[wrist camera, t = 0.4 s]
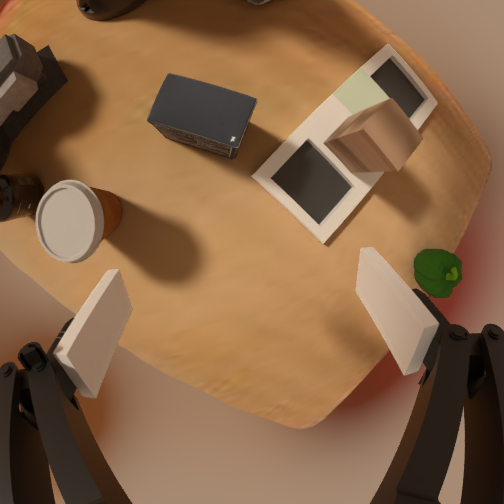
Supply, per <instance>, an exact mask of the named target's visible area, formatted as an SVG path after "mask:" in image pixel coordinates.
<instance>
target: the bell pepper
mask: <svg viewBox="0 0 504 504" xmlns="http://www.w3.org/2000/svg"><path fill="white" fill-rule="evenodd" d="M461 266H462V262H461V260H460V259H459V258H458V257H457V256H456V255H454V254H452V253H449V252H448V251H445V250H442V249H425V250H423V251H422V252H420V253H419V254H418V255H417V256H416V258H415V259H414V268H415V273H414V275H415V279H416V281H417V282H418V284H419V285H420V286H421V287H422V288H423V289H424V290H425V291H426V292H427V293H428V294H430V295H431V296H433V297H434V298H446V297H449V296H450V295H451V293H452V288H453V287H455V286H457V284H458V283H459V282H460V281H461V280H462V274H461Z"/></svg>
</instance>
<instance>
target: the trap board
mask: <svg viewBox="0 0 504 504" xmlns="http://www.w3.org/2000/svg"><path fill="white" fill-rule="evenodd" d="M390 98H393V100H394V101H395V102H396V103H397V104H398V106H399V107H400V108H401V109H402V110H403V112H404V113H405V114H406V115H407V117H408V118H409V119H410V121H411V122H412V123H413V125H414V126H415V127H416V129H417V130H418V129H419V128H420V127H421V125H422V124H423V123H424V121H425V120H426V119H427V117H428V116H429V115H430V113H431V112H432V111H433V109H434V108H435V107H436V105H437V104H438V102H437V101H436V99H435V98H434V97H433V95H432V94H431V92H430V91H429V90H428V89H427V87H426V86H425V85H424V83H423V82H422V81H421V80H420V78H419V77H418V76H417V75H416V73H415V72H414V71H413V70H412V69H411V67H410V66H409V65H408V64H407V63H406V62H405V61H404V59H403V58H402V57H401V56H400V55H399V54H398V53H397V52H396V51H395V50H394V49H393V48H392V46H391V45H390V44H389V43H388V44H386V45H385V46H384V47H383V48H381V49H380V50H379V51H378V52H377V53H376V54H375V55H373V56H372V57H371V58H370V59H369V60H368V61H367V62H366V63H365V64H363V65H362V66H361V67H360V68H359V69H358V70H357V71H356V72H355V73H354V74H352V75H351V76H350V77H349V78H348V79H347V80H346V81H345V82H344V83H343V84H342V85H341V86H340V87H339V88H338V89H336V90H335V91H334V92H333V93H332V94H331V95H330V96H329V97H328V98H327V99H326V100H325V101H324V102H323V103H322V104H321V105H320V106H319V107H318V108H317V109H316V110H315V111H314V112H313V113H312V114H311V115H310V116H309V117H308V118H307V119H306V120H305V121H304V122H303V123H302V124H301V125H300V126H299V127H298V128H297V129H296V130H295V131H294V132H293V133H292V134H291V135H290V136H289V137H288V138H287V139H286V140H285V141H284V142H283V143H282V144H281V145H280V146H279V147H278V148H277V149H276V150H275V151H274V152H273V154H272V155H271V156H270V157H269V158H268V159H267V160H266V161H265V162H264V163H263V164H262V165H261V166H260V167H259V168H258V169H257V171H256V172H255V173H254V174H253V175H252V176H251V177H252V178H253V179H254V180H255V181H256V182H257V183H258V184H259V185H261V186H262V187H263V188H264V189H265V190H266V191H267V192H268V193H269V194H270V195H271V196H273V197H274V198H275V199H276V200H277V201H278V202H279V203H280V204H281V205H282V206H283V207H284V208H285V209H286V210H287V211H289V212H290V213H291V214H292V215H293V216H294V217H295V218H296V219H297V220H298V221H299V222H300V223H301V224H302V225H303V226H304V227H305V228H306V229H307V230H308V231H309V232H310V233H311V234H312V235H313V236H314V237H315V238H316V239H317V240H318V241H319V242H321V243H323V244H324V243H325V241H326V240H327V239H328V238H329V237H330V236H331V235H332V234H333V232H334V231H335V230H336V229H337V228H338V227H339V226H340V224H341V223H342V222H343V221H344V220H345V219H346V218H347V216H348V215H349V214H350V213H351V212H352V211H353V209H354V208H355V207H356V206H357V205H358V204H359V202H360V201H361V200H362V199H363V198H364V196H365V195H366V194H367V193H368V192H369V190H370V189H371V188H372V187H373V186H374V184H375V183H376V182H377V181H378V180H379V178H380V177H381V176H382V175H383V174H384V172H364V173H351V172H350V171H349V170H348V169H347V168H346V167H345V166H344V165H343V164H342V163H341V161H340V160H339V159H338V158H337V157H336V156H335V155H334V154H333V153H332V152H331V151H330V150H329V149H328V148H327V147H326V146H325V145H324V144H323V143H324V142H325V141H326V140H327V139H328V137H329V136H330V135H331V134H332V133H333V132H334V131H335V130H336V129H337V128H338V127H339V126H340V125H341V124H342V123H343V122H344V121H345V120H346V119H347V118H348V117H350V116H352V115H354V114H356V113H358V112H360V111H363V110H365V109H367V108H369V107H371V106H374V105H376V104H378V103H381V102H383V101H385V100H388V99H390Z"/></svg>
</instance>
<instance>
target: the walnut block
mask: <svg viewBox="0 0 504 504" xmlns="http://www.w3.org/2000/svg"><path fill="white" fill-rule="evenodd" d="M422 140H423V137H422V135H421V134H420V133H419V131H418V130H417V129H416V127H415V126H414V125H413V123H412V122H411V121H410V119H409V118H408V117H407V115H406V114H405V113H404V112H403V110H402V109H401V108H400V107H399V106H398V104H397V103H396V102H395V101H394V100H393V98H390V99H388V100H385V101H383V102H381V103H378V104H376V105H374V106H371V107H369V108H367V109H365V110H363V111H360V112H358V113H356V114H354V115H352V116H350V117H348V118H347V119H346V120H345V121H344V122H343V123H342V124H341V125H340V126H339V127H338V128H337V129H336V130H335V131H334V132H333V133H332V134H331V135H330V136H329V137H328V139H327V140H326V141H325V142H324V143H323V144H324V145H325V146H326V147H327V148H328V149H329V150H330V151H331V152H332V153H333V154H334V155H335V156H336V157H337V158H338V159H339V160H340V161H341V163H342V164H343V165H344V166H345V167H346V168H347V169H348V170H349V171H350V172H351V173H364V172H398V171H399V170H400V169H401V167H402V166H403V165H404V163H405V162H406V161H407V160H408V158H409V157H410V156H411V154H412V153H413V152H414V150H415V149H416V148H417V146H418V145H419V144H420V142H421V141H422Z"/></svg>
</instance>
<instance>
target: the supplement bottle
mask: <svg viewBox="0 0 504 504" xmlns="http://www.w3.org/2000/svg"><path fill="white" fill-rule="evenodd" d="M43 195H44V192H43V186H42V183H41V181H40V179H39V178H38V177H37V176H35V175H33V174H5V175H0V222H5V221H9V220H13V219H17V218H21V217H25V216H29V215H32V214H34V213H36V212H37V208H38V205H39V202H40V201H41V199H42V197H43Z"/></svg>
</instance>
